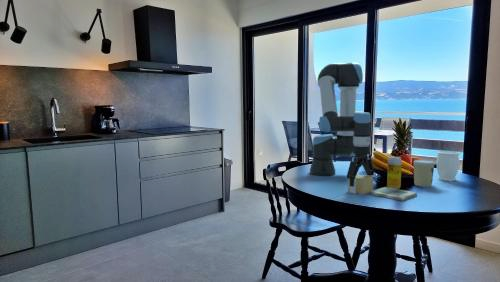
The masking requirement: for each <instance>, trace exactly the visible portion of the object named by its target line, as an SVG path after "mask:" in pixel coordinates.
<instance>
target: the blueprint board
mask: <svg viewBox="0 0 500 282" xmlns="http://www.w3.org/2000/svg"><path fill="white" fill-rule="evenodd" d="M369 193H370V195H372V196H377V197H382V198H388V199H391V200H392V199H393V200H396V201H402V202H404V201H406V200H410V199H411V198H414V197H416V196H418V192H413V191H409V190H404V189H400V188H399V189H393V188H388V186H384V187H383V186H382V187H380V188H377V189H373V191H370V192H369Z"/></svg>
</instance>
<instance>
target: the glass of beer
mask: <svg viewBox="0 0 500 282" xmlns="http://www.w3.org/2000/svg"><path fill="white" fill-rule="evenodd" d="M386 175H387V177H386V179H387V180H386V181H387V182H386V187H388V188H393V189H399V190H400V188H401V187H402V186H401V185H402V181H401V180H402V157H400V156H388V158H387V174H386Z"/></svg>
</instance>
